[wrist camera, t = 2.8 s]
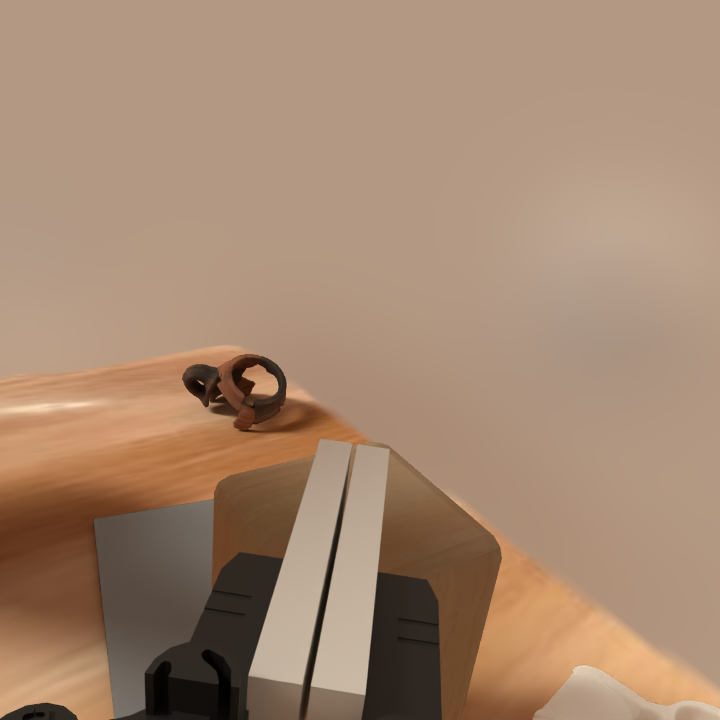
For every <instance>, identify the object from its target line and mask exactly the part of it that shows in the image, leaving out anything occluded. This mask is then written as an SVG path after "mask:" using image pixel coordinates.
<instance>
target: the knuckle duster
mask: <svg viewBox="0 0 720 720" xmlns="http://www.w3.org/2000/svg"><path fill="white" fill-rule="evenodd" d="M532 720H720V709H719V708H717V707H715V706H712V705H710V704H707V703H703V702H698V701H680V702H676V703H674V704H672V705H670V706H665V705H661V704H656V703H652V702H648V701H646V700H645V699H643V698H642V697H641V696H639V695H638V694H636V693H635V692H633V691H632V690H631V689H629V688H628V687H626V686H625V685H624V684H622V683H621V682H619V681H617V680H615V679H614V678H613V677H611V676H610V675H608V674H606V673H605V672H603V671H601V670H598V669H596V668H593V667H590V666H586V665H581V666H576V667H575V668H574V670H573V672H572V675H571V676H570V677H569V678H568V680H567V681H566V682H565V683H564V684H563V685H562V686H561V688H560V689H559V690H558V691H557V692H556V693H555V694H554V695H553V697H552V698H551V699H550V700H549V701H548V702H547V703H546V705H545V706H544V707H543V708H542V709H538V710H537V711H536V712H535V714H534V717H533V719H532Z"/></svg>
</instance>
